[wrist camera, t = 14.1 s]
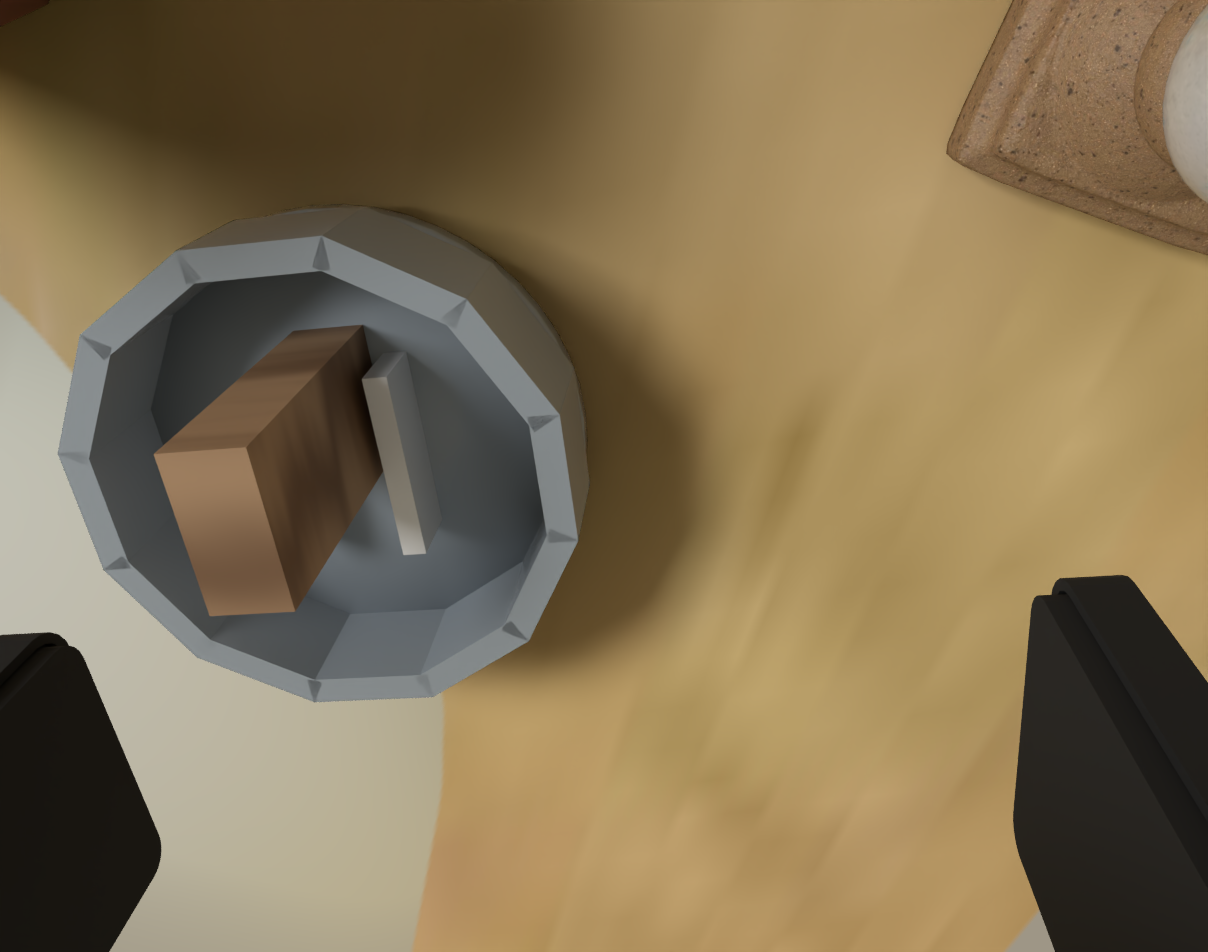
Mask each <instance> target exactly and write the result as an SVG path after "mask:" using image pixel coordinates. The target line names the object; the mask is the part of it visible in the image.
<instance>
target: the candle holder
mask: <svg viewBox="0 0 1208 952" xmlns="http://www.w3.org/2000/svg"><path fill="white" fill-rule="evenodd" d="M946 154H948V155H949V156H950V157H951V158H952V159H953V160H955V161H956V162H958V163H960V164H961V165H963V166H965V167H967V168H969V169H972V170H974V171H976V172H979V173H981V174H983V175H986V176H988V177H990V178H993V179H995V180H997V181H999V182H1002V183H1004V184H1007V185H1010V186H1013V187H1015V188H1018V189H1021V190H1024V191H1026V192H1029V193H1032V194H1035V195H1037V196H1040V197H1043V198H1046V199H1048V200H1051V201H1054V202H1057V203H1059V204H1062V205H1065V206H1068V207H1070V208H1073V209H1076V210H1079V211H1081V212H1084V213H1087V214H1090V215H1092V216H1095V217H1098V218H1100V219H1103V220H1106V221H1109V222H1111V223H1114V224H1117V225H1120V226H1122V227H1125V228H1128V229H1131V230H1133V231H1136V232H1139V233H1142V234H1144V235H1147V236H1150V237H1153V238H1155V239H1158V240H1161V241H1164V242H1166V243H1169V244H1172V245H1175V246H1178V247H1182V248H1185V249H1189V250H1192V251H1196V252H1199V253H1203V254H1206V255H1208V0H1013V1H1012V3H1011V5H1010V8H1009V10H1008V12H1007V14H1006V16H1005V18H1004V20H1003V22H1002V25H1001V27H1000V29H999V31H998V33H997V35H996V37H995V39H994V42H993V44H992V46H991V48H990V50H989V52H988V54H987V56H986V59H985V61H984V63H983V65H982V67H981V69H980V71H979V73H978V75H977V78H976V80H975V82H974V84H973V86H972V88H971V90H970V92H969V95H968V97H967V99H966V101H965V103H964V105H963V108H962V110H961V112H960V115H959V117H958V120H957V122H956V124H955V127H954V129H953V132H952V134H951V136H950V139H949V141H948V145H947V153H946Z"/></svg>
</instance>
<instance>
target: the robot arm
mask: <svg viewBox="0 0 1208 952" xmlns="http://www.w3.org/2000/svg"><path fill="white" fill-rule="evenodd" d="M1013 823H1014V833H1015V840H1016V845H1017V849H1018V852H1019V856H1020V859H1021V862H1022V864H1023V867H1024V870H1025V872H1026V875H1027V878H1028V880H1029V883H1030V886H1031V888H1032V891H1033V894H1034V896H1035V899H1036V902H1037V904H1038V907H1039V910H1040V912H1041V915H1042V917H1043V920H1044V923H1045V926H1046V928H1047V931H1048V934H1049V936H1050V939H1051V942H1052V944H1053V947H1054V950H1055V952H1208V682H1207V681H1206V680H1205V678H1204V677H1203V675H1202V674H1201V673H1200V671H1199V670H1198V669H1197V667H1196V666H1195V665H1194V663H1193V662H1192V660H1191V659H1190V658H1189V656H1188V655H1187V654H1186V652H1185V651H1184V650H1183V648H1182V647H1181V645H1180V644H1179V643H1178V641H1177V640H1176V639H1175V637H1174V636H1173V635H1172V633H1171V632H1170V630H1169V629H1168V628H1167V626H1166V625H1165V624H1164V622H1163V621H1162V620H1161V618H1160V617H1159V615H1158V614H1157V613H1156V611H1155V610H1154V609H1153V607H1152V606H1151V605H1150V603H1149V602H1148V600H1147V599H1146V598H1145V596H1144V595H1143V594H1142V592H1141V591H1140V590H1139V588H1138V587H1137V585H1136V584H1135V583H1134V582H1133V581H1132V580H1131V579H1130V578H1129V577H1128V576H1124V575H1114V576H1096V577H1077V578H1060V579H1059V580H1057V581H1056V582H1055V584H1054V587H1053V589H1052V595H1040V596H1036V597H1035V598H1034V600H1033V603H1032V608H1031V617H1030V629H1029V640H1028V652H1027V663H1026V675H1025V686H1024V697H1023V709H1022V720H1021V732H1020V743H1019V755H1018V766H1017V778H1016V789H1015V800H1014V812H1013ZM160 858H161V841H160V837H159V834H158V832H157V830H156V827H155V825H154V822H153V820H152V818H151V815H150V813H149V810H148V808H147V806H146V803H145V801H144V799H143V796H142V794H141V792H140V789H139V787H138V784H137V782H136V780H135V777H134V775H133V773H132V771H131V768H130V766H129V763H128V761H127V759H126V756H125V754H124V751H123V749H122V747H121V744H120V742H119V740H118V738H117V735H116V733H115V730H114V728H113V726H112V723H111V721H110V719H109V716H108V714H107V712H106V709H105V707H104V704H103V702H102V700H101V697H100V695H99V693H98V691H97V688H96V686H95V683H94V681H93V679H92V676H91V674H90V671H89V669H88V667H87V664H86V662H85V660H84V658H83V656H82V654H81V653H80V651H79V650H77V649H76V648H75V647H72V646H69V645H68V643H67V642H66V640H65V639H63V638H62V637H61V636H60V635H58V634H54V633H31V634H12V635H0V952H109V951H110V949H111V948H112V946H113V944H114V943H115V941H116V939H117V938H118V936H119V934H120V933H121V931H122V929H123V928H124V926H125V924H126V923H127V921H128V919H129V918H130V916H131V914H132V913H133V911H134V909H135V908H136V906H137V904H138V903H139V901H140V899H141V898H142V896H143V894H144V893H145V891H146V889H147V888H148V886H149V884H150V883H151V881H152V879H153V877H154V876H155V874H156V872H157V869H158V866H159V862H160Z"/></svg>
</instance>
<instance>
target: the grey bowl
mask: <svg viewBox="0 0 1208 952" xmlns="http://www.w3.org/2000/svg"><path fill="white" fill-rule="evenodd" d="M352 325H363V328H364V332H365V337H366V341H367V345H368V350H369V354H370V358H371V363H372V367H371V368H370V369H369V371H368V372H367V373H366V374H365V376H364V377H363V378H362V383H363V387H364V391H365V396H366V400H367V404H368V408H369V412H370V417H371V421H372V425H373V429H374V433H375V438H376V442H377V446H378V450H379V454H380V459H381V463H382V467H383V473H382V474H381V476H380V477H379V479H378V481H377V482H376V484H375V485H374V487H373V489H372V490H371V492H370V493H369V495H368V496H367V498H366V500H365V501H364V503H363V504H362V506H361V508H360V509H359V511H358V512H357V514H356V516H355V517H354V519H353V520H352V522H351V524H350V525H349V527H348V528H347V530H346V532H345V533H344V535H343V536H342V538H341V540H340V541H339V543H338V544H337V546H336V548H335V549H334V551H333V552H332V554H331V556H330V557H329V559H328V560H327V562H326V564H325V565H324V567H323V568H322V570H321V571H320V573H319V575H318V576H317V578H316V579H315V581H314V583H313V584H312V586H311V587H310V589H309V591H308V592H307V594H306V595H305V597H304V599H303V600H302V602H301V603H300V605H299V607H298V608H297V610H296V611H295V612H280V613H261V614H242V615H223V616H209V613H208V610H207V607H206V604H205V601H204V598H203V595H202V592H201V590H200V587H199V584H198V581H197V578H196V575H195V572H194V569H193V567H192V564H191V561H190V558H189V555H188V552H187V549H186V546H185V543H184V541H183V538H182V535H181V532H180V529H179V526H178V523H177V520H176V518H175V515H174V512H173V509H172V506H171V503H170V500H169V497H168V494H167V492H166V489H165V486H164V483H163V480H162V477H161V474H160V471H159V468H158V466H157V463H156V460H155V457H154V453H155V452H157V451H158V450H159V449H160V448H161V447H162V446H163V445H164V444H166V443H167V442H168V441H169V440H170V439H171V438H172V437H174V436H175V435H176V434H177V433H178V432H179V431H180V430H181V429H183V428H184V427H185V426H186V425H187V424H188V423H189V422H191V421H192V420H193V419H194V418H195V417H196V416H197V415H198V414H200V413H201V412H202V411H203V410H204V409H205V408H206V407H208V406H209V405H210V404H211V403H212V402H213V401H214V400H215V399H217V398H218V397H219V396H220V395H221V394H222V393H223V392H224V391H226V390H227V389H228V388H229V387H230V386H231V385H232V384H234V383H235V382H236V381H237V380H238V379H239V378H240V377H241V376H243V375H244V374H245V373H246V372H247V371H248V370H249V369H251V368H252V367H253V366H254V365H255V364H256V363H257V362H258V361H260V360H261V359H262V358H263V357H264V356H265V355H266V354H268V353H269V352H270V351H271V350H272V349H273V348H274V347H275V346H277V345H278V344H279V343H280V342H281V341H282V340H283V339H285V338H286V337H287V336H288V335H289V334H290V333H291V332H292V331H296V330H307V329H318V328H330V327H341V326H352ZM586 451H587V427H586V413H585V408H584V403H583V398H582V393H581V388H580V384H579V381H578V379H577V376H576V373H575V370H574V367H573V364H572V361H571V359H570V356H569V354H568V352H567V351H566V349H565V347H564V345H563V343H562V341H561V339H560V337H559V335H558V333H557V331H556V329H555V328H554V326H553V325H552V324H551V322H550V321H549V319H548V318H547V316H546V315H545V313H544V312H543V310H542V309H541V307H540V306H539V305H538V303H537V302H536V301H535V300H534V299H533V298H532V297H531V296H530V294H529V293H528V292H527V291H526V290H525V289H524V288H523V286H522V285H521V284H520V283H519V282H518V281H517V280H516V279H515V278H514V277H512V276H511V275H510V274H509V273H508V272H507V271H506V270H505V269H503V268H502V267H501V266H500V265H499V264H498V263H497V262H496V261H494V260H493V259H492V258H490V257H489V256H487V255H486V254H484V253H483V252H482V251H480V250H479V249H477V248H476V247H474V246H473V245H471V244H470V243H468V242H467V241H465V240H463V239H461V238H459V237H457V236H455V235H454V234H452V233H450V232H448V231H446V230H444V229H442V228H440V227H438V226H436V225H433V224H430V223H428V222H425V221H422V220H420V219H417V218H414V217H412V216H409V215H406V214H402V213H397V212H393V211H389V210H384V209H380V208H376V207H367V206H357V205H347V204H334V205H311V206H305V207H300V208H294V209H289V210H283V211H280V212H277V213H274V214H271V215H268V216H265V217H257V218H248V219H238V220H233V221H231V222H229V223H227V224H225V225H223V226H222V227H220V228H218V229H216V230H214V231H212V232H210V233H208V234H206V235H204V236H203V237H201V238H199V239H197V240H195V241H193V242H191V243H189V244H187V245H185V246H184V247H182V248H180V249H178V250H176V251H175V252H174V253H173V254H172V255H171V256H169V257H168V258H167V259H166V260H165V261H164V262H163V263H161V264H160V265H159V266H158V267H157V268H156V269H155V270H153V271H152V272H151V273H150V274H149V275H148V276H147V277H145V278H144V279H143V280H142V281H141V282H140V283H139V284H137V285H136V286H135V287H134V288H133V289H132V290H131V291H129V292H128V293H127V294H126V295H125V296H124V297H123V298H121V299H120V300H119V301H118V302H117V303H116V304H115V305H114V306H112V307H111V308H110V309H109V310H108V311H107V312H106V313H104V314H103V315H102V316H101V317H100V318H99V319H98V320H96V321H95V322H94V323H93V324H92V325H91V326H90V327H88V328H87V329H86V330H85V331H84V332H83V333H82V334H80V337H79V343H78V348H77V353H76V359H75V364H74V369H73V375H72V380H71V386H70V391H69V396H68V402H67V407H66V412H65V418H64V423H63V428H62V434H61V439H60V444H59V450H58V456H59V458H60V460H61V463H62V466H63V468H64V471H65V473H66V476H67V478H68V481H69V483H70V486H71V488H72V491H73V494H74V496H75V498H76V501H77V504H78V506H79V509H80V511H81V514H82V516H83V519H84V521H85V524H86V526H87V529H88V532H89V534H90V536H91V539H92V542H93V544H94V547H95V549H96V552H97V554H98V557H99V559H100V562H101V564H102V567H103V570H104V571H105V572H106V573H108V574H109V575H110V576H111V577H112V578H113V579H114V580H115V581H116V582H117V583H118V584H119V585H120V586H122V588H124V589H125V590H126V591H127V592H128V593H129V594H130V595H131V596H132V597H133V598H134V599H135V600H136V601H137V602H138V603H140V604H141V605H142V606H143V607H144V608H145V609H146V610H147V611H148V612H149V613H150V614H151V615H152V616H153V617H154V618H156V619H157V620H158V621H159V622H160V623H161V624H162V625H163V626H164V627H165V628H166V629H167V630H168V631H169V632H170V633H172V634H173V635H174V636H175V637H176V638H177V639H178V640H179V641H180V642H181V643H182V644H183V645H184V646H185V647H186V648H188V649H189V650H190V651H191V652H192V653H193V654H194V655H195V656H196V657H197V658H200V659H203V660H205V661H208V662H210V663H213V664H216V665H218V666H221V667H223V668H226V669H229V670H231V671H234V672H237V673H240V674H242V675H244V676H247V677H250V678H252V679H255V680H258V681H260V682H263V683H265V684H268V685H271V686H274V687H276V688H279V689H281V690H284V691H286V692H289V693H292V694H294V695H297V696H300V697H303V698H305V699H308V700H310V701H313V702H329V701H353V700H376V699H400V698H422V697H434V696H435V695H437V694H439V693H441V692H442V691H444V690H446V689H447V688H449V687H451V686H453V685H454V684H456V683H458V682H459V681H461V680H463V679H465V678H466V677H468V676H470V675H472V674H473V673H475V672H477V671H478V670H480V669H482V668H484V667H485V666H487V665H489V664H490V663H492V662H494V661H496V660H497V659H499V658H501V657H502V656H504V655H506V654H508V653H509V652H511V651H513V650H514V649H516V648H518V647H520V646H521V645H523V644H525V643H526V642H529V640H530V638H531V636H532V634H533V631H534V629H535V627H536V625H537V623H538V621H539V619H540V617H541V615H542V613H543V611H544V609H545V607H546V605H547V603H548V601H549V599H550V597H551V595H552V593H553V591H554V589H555V587H556V585H557V583H558V581H559V579H560V577H561V575H562V573H563V571H564V569H565V567H566V565H567V563H568V561H569V558H570V556H571V554H572V552H573V550H574V548H575V546H576V544H577V542H578V540H579V535H580V530H581V525H582V520H583V515H584V510H585V505H586V500H587V496H588V491H589V486H590V480H589V473H588V465H587V458H586Z"/></svg>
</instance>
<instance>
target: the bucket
mask: <svg viewBox="0 0 1208 952" xmlns="http://www.w3.org/2000/svg"><path fill="white" fill-rule="evenodd" d="M49 1H50V0H0V27H1V26H3V25H5V24H7V23H9V22H11V21H13V20H15V19H18V18H20V17H22V16H24V15H26V14H28V13H30V12H32V11H34V10H36V9H39V8H41V7H43V6H45V5H47V4H48V3H49Z"/></svg>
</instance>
